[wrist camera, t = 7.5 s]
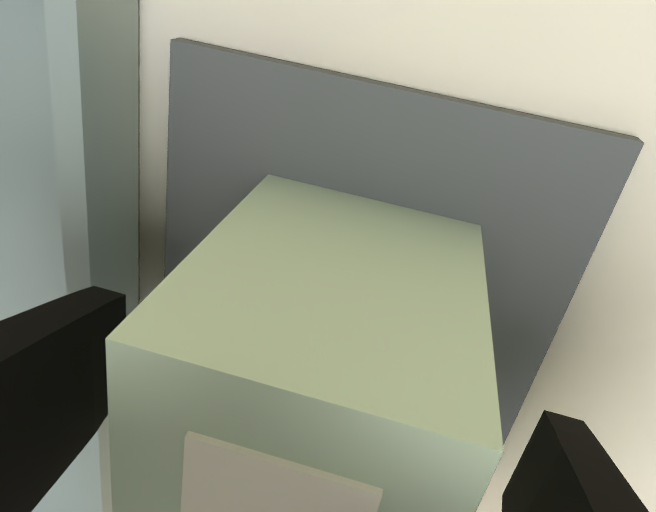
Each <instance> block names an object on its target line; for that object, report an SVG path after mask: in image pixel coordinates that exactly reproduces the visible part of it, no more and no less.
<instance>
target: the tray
mask: <svg viewBox="0 0 656 512" xmlns="http://www.w3.org/2000/svg"><path fill="white" fill-rule="evenodd" d="M91 286H97V287H101V288H104V289H108V290H111V291H115V292H119V293H122V294H126V317H127V316H128V315H129V314H130V313H131V312H132V311H133V310H134V309H135V308H136V307H137V306H138V305H139V6H138V0H0V321H1V320H3V319H6V318H8V317H11V316H14V315H16V314H19V313H21V312H24V311H26V310H29V309H31V308H34V307H37V306H39V305H42V304H44V303H47V302H49V301H52V300H55V299H57V298H60V297H62V296H65V295H68V294H71V293H73V292H76V291H79V290H82V289H85V288H88V287H91ZM32 512H112V497H111V471H110V446H109V420H108V415H107V417H106V418H105V420H104V421H103V423H102V424H101V426H100V427H99V429H98V430H97V432H96V433H95V435H94V436H93V437H92V439H91V440H90V441H89V442H88V444H87V445H86V446H85V447H84V449H83V450H82V451H81V452H80V453H79V455H78V456H77V457H76V458H75V460H74V461H73V462H72V463H71V464H70V466H69V467H68V468H67V469H66V471H65V472H64V473H63V474H62V475H61V477H60V478H59V479H58V480H57V482H56V483H55V484H54V485H53V486H52V488H51V489H50V490H49V491H48V492H47V494H46V495H45V496H44V497H43V498H42V500H41V501H40V502H39V503H38V504H37V506H36V507H35V508H34V509H33V510H32Z"/></svg>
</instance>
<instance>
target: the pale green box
mask: <svg viewBox="0 0 656 512" xmlns="http://www.w3.org/2000/svg"><path fill="white" fill-rule="evenodd" d="M105 344H106V369H107V395H108V420H109V446H110V471H111V497H112V512H476V510H477V508H478V506H479V504H480V502H481V499H482V497H483V495H484V493H485V491H486V489H487V487H488V485H489V482H490V480H491V478H492V476H493V474H494V472H495V470H496V468H497V465H498V463H499V461H500V459H501V457H502V455H503V453H504V450H503V440H502V430H501V420H500V411H499V401H498V391H497V381H496V371H495V361H494V351H493V341H492V331H491V321H490V312H489V302H488V292H487V282H486V272H485V262H484V252H483V242H482V232H481V225H477V224H472V223H468V222H464V221H460V220H456V219H452V218H447V217H443V216H439V215H435V214H431V213H427V212H423V211H418V210H414V209H410V208H406V207H402V206H398V205H394V204H389V203H385V202H381V201H377V200H373V199H369V198H365V197H360V196H356V195H352V194H348V193H344V192H340V191H336V190H331V189H327V188H323V187H319V186H315V185H311V184H307V183H302V182H298V181H294V180H290V179H286V178H282V177H278V176H273V175H269V174H268V175H267V176H266V177H265V178H264V179H263V180H262V181H261V182H260V183H259V184H258V185H257V186H256V187H255V188H254V189H253V190H252V191H251V192H250V193H249V194H248V195H247V196H246V197H245V198H244V199H243V200H242V201H241V202H240V203H239V204H238V205H237V206H236V207H235V208H234V209H233V210H232V211H231V212H230V213H229V214H228V215H227V216H226V217H225V218H224V219H223V220H222V221H221V222H220V223H219V224H218V225H217V226H216V227H215V228H214V229H213V230H212V232H211V233H210V234H209V235H208V236H207V237H206V238H205V239H204V240H203V241H202V242H201V243H200V244H199V245H198V246H197V247H196V248H195V249H194V250H193V251H192V252H191V253H190V254H189V255H188V256H187V257H186V258H185V259H184V260H183V261H182V262H181V263H180V264H179V265H178V266H177V267H176V268H175V269H174V270H173V271H172V272H171V273H170V274H169V275H168V276H167V277H166V278H165V279H164V280H163V281H162V282H161V283H160V284H159V285H158V286H157V287H156V288H155V289H154V290H153V291H152V292H151V293H150V294H149V295H148V296H147V297H146V298H145V299H144V300H143V301H142V302H141V303H140V304H139V305H138V306H137V307H136V308H135V309H134V310H133V311H132V312H131V313H130V314H129V315H128V316H127V317H126V318H125V319H124V320H123V321H122V322H121V323H120V324H119V325H118V326H117V327H116V328H115V329H114V330H113V331H112V332H111V333H110V334H109V335H108V336H107V337H106V338H105Z"/></svg>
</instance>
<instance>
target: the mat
mask: <svg viewBox="0 0 656 512" xmlns="http://www.w3.org/2000/svg"><path fill="white" fill-rule="evenodd" d="M643 145H644V142H643V141H641V140H640V139H639V138H638V137H634V136H629V135H624V134H620V133H615V132H611V131H606V130H601V129H597V128H592V127H588V126H583V125H578V124H574V123H569V122H565V121H560V120H555V119H551V118H546V117H542V116H537V115H532V114H528V113H523V112H519V111H514V110H509V109H505V108H500V107H496V106H491V105H486V104H482V103H477V102H473V101H468V100H463V99H459V98H454V97H450V96H445V95H440V94H436V93H431V92H427V91H422V90H417V89H413V88H408V87H404V86H399V85H394V84H390V83H385V82H381V81H376V80H371V79H367V78H362V77H358V76H353V75H348V74H344V73H339V72H335V71H330V70H325V69H321V68H316V67H312V66H307V65H303V64H298V63H293V62H289V61H284V60H280V59H275V58H270V57H266V56H261V55H257V54H252V53H247V52H243V51H238V50H234V49H229V48H224V47H220V46H215V45H211V44H206V43H201V42H197V41H192V40H188V39H183V38H176V39H171V44H170V82H169V120H168V158H167V196H166V234H165V272H164V279H165V278H166V277H167V276H168V275H169V274H170V273H171V272H172V271H173V270H174V269H175V268H176V267H177V266H178V265H179V264H180V263H181V262H182V261H183V260H184V259H185V258H186V257H187V256H188V255H189V254H190V253H191V252H192V251H193V250H194V249H195V248H196V247H197V246H198V245H199V244H200V243H201V242H202V241H203V240H204V239H205V238H206V237H207V236H208V235H209V234H210V233H211V232H212V230H213V229H214V228H215V227H216V226H217V225H218V224H219V223H220V222H221V221H222V220H223V219H224V218H225V217H226V216H227V215H228V214H229V213H230V212H231V211H232V210H233V209H234V208H235V207H236V206H237V205H238V204H239V203H240V202H241V201H242V200H243V199H244V198H245V197H246V196H247V195H248V194H249V193H250V192H251V191H252V190H253V189H254V188H255V187H256V186H257V185H258V184H259V183H260V182H261V181H262V180H263V179H264V178H265V177H266V176H267V175H268V174H269V175H273V176H278V177H282V178H286V179H290V180H294V181H298V182H302V183H307V184H311V185H315V186H319V187H323V188H327V189H331V190H336V191H340V192H344V193H348V194H352V195H356V196H360V197H365V198H369V199H373V200H377V201H381V202H385V203H389V204H394V205H398V206H402V207H406V208H410V209H414V210H418V211H423V212H427V213H431V214H435V215H439V216H443V217H447V218H452V219H456V220H460V221H464V222H468V223H472V224H477V225H481V232H482V242H483V252H484V262H485V272H486V282H487V292H488V302H489V312H490V321H491V331H492V341H493V351H494V361H495V371H496V381H497V391H498V401H499V411H500V420H501V430H502V440H503V445H504V442H505V440H506V438H507V436H508V434H509V432H510V430H511V427H512V425H513V423H514V421H515V419H516V417H517V415H518V412H519V410H520V408H521V406H522V404H523V402H524V400H525V397H526V395H527V393H528V391H529V389H530V387H531V385H532V382H533V380H534V378H535V376H536V374H537V372H538V370H539V367H540V365H541V363H542V361H543V359H544V357H545V355H546V352H547V350H548V348H549V346H550V344H551V342H552V340H553V337H554V335H555V333H556V331H557V329H558V327H559V325H560V322H561V320H562V318H563V316H564V314H565V312H566V310H567V307H568V305H569V303H570V301H571V299H572V297H573V295H574V292H575V290H576V288H577V286H578V284H579V282H580V280H581V277H582V275H583V273H584V271H585V269H586V267H587V265H588V262H589V260H590V258H591V256H592V254H593V252H594V250H595V247H596V245H597V243H598V241H599V239H600V237H601V235H602V233H603V230H604V228H605V226H606V224H607V222H608V220H609V218H610V215H611V213H612V211H613V209H614V207H615V205H616V203H617V200H618V198H619V196H620V194H621V192H622V190H623V188H624V185H625V183H626V181H627V179H628V177H629V175H630V173H631V170H632V168H633V166H634V164H635V162H636V160H637V158H638V155H639V153H640V151H641V149H642V147H643Z"/></svg>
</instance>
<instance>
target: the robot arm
mask: <svg viewBox="0 0 656 512" xmlns="http://www.w3.org/2000/svg"><path fill="white" fill-rule="evenodd" d="M125 318H126V294H122V293H119V292H115V291H111V290H108V289H104V288H101V287H97V286H91V287H88V288H85V289H82V290H79V291H76V292H73V293H71V294H68V295H65V296H62V297H60V298H57V299H55V300H52V301H49V302H47V303H44V304H42V305H39V306H37V307H34V308H31V309H29V310H26V311H24V312H21V313H19V314H16V315H14V316H11V317H8V318H6V319H3V320H1V321H0V512H32V510H33V509H34V508H35V507H36V506H37V504H38V503H39V502H40V501H41V500H42V498H43V497H44V496H45V495H46V494H47V492H48V491H49V490H50V489H51V488H52V486H53V485H54V484H55V483H56V482H57V480H58V479H59V478H60V477H61V475H62V474H63V473H64V472H65V471H66V469H67V468H68V467H69V466H70V464H71V463H72V462H73V461H74V460H75V458H76V457H77V456H78V455H79V453H80V452H81V451H82V450H83V449H84V447H85V446H86V445H87V444H88V442H89V441H90V440H91V439H92V437H93V436H94V435H95V433H96V432H97V430H98V429H99V427H100V426H101V424H102V423H103V421H104V420H105V418H106V417H107V415H108V395H107V369H106V344H105V338H106V337H107V336H108V335H109V334H110V333H111V332H112V331H113V330H114V329H115V328H116V327H117V326H118V325H119V324H120V323H121V322H122V321H123V320H124V319H125ZM502 512H649V511H648V510H647V508H646V507H645V506H644V504H643V503H642V502H641V500H640V499H639V497H638V496H637V494H636V493H635V492H634V490H633V489H632V487H631V486H630V485H629V483H628V482H627V480H626V479H625V478H624V476H623V475H622V473H621V472H620V471H619V469H618V468H617V466H616V465H615V464H614V462H613V461H612V459H611V458H610V457H609V455H608V454H607V452H606V451H605V449H604V448H603V447H602V445H601V444H600V443H599V441H598V440H597V438H596V437H595V436H594V434H593V433H592V432H591V430H590V429H589V428H588V426H587V425H586V424H585V422H584V421H582V420H578V419H574V418H571V417H567V416H564V415H560V414H556V413H553V412H549V411H546V410H544V412H543V414H542V416H541V418H540V420H539V422H538V424H537V426H536V428H535V430H534V432H533V434H532V436H531V438H530V440H529V442H528V444H527V446H526V448H525V450H524V452H523V454H522V456H521V458H520V460H519V462H518V464H517V466H516V468H515V470H514V472H513V475H512V477H511V479H510V481H509V483H508V485H507V487H506V489H505V491H504V493H503V495H502Z"/></svg>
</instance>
